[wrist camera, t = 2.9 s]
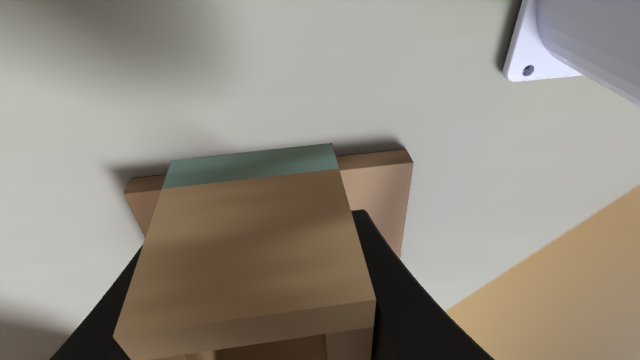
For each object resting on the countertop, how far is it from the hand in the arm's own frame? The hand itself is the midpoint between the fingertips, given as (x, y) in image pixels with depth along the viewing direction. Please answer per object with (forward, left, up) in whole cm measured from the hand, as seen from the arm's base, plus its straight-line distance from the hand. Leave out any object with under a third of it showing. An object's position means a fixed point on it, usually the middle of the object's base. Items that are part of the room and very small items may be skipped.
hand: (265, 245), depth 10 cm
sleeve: (0, 0, -2) cm, 2 cm away
